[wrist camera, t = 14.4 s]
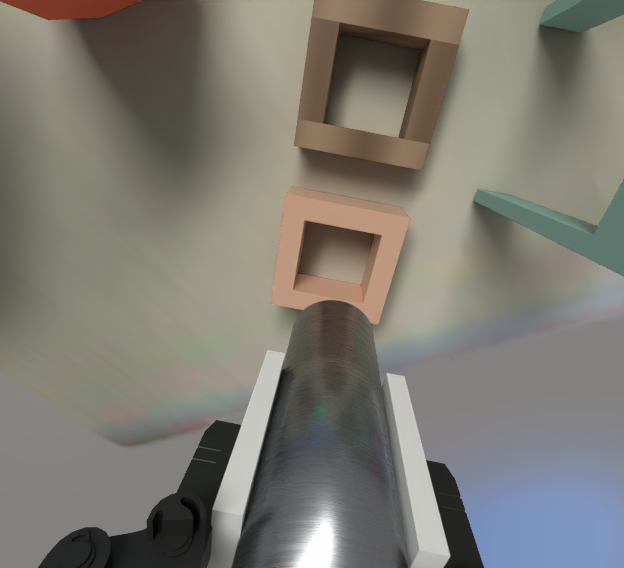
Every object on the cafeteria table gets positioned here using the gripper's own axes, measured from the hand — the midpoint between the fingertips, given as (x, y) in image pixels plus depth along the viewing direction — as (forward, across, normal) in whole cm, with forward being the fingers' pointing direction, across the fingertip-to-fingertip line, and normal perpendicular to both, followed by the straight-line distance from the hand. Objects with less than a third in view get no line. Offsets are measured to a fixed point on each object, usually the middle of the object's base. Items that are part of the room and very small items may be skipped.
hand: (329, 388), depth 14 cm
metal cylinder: (+4, 0, 0) cm, 4 cm away
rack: (+19, 0, 0) cm, 19 cm away
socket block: (+19, 0, +14) cm, 23 cm away
